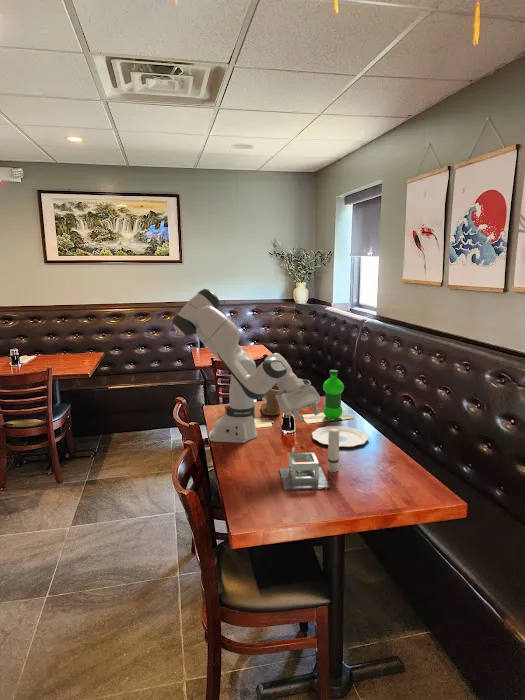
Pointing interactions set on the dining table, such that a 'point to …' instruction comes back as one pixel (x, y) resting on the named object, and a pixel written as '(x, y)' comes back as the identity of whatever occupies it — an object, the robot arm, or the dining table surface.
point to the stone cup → (271, 402)
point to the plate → (352, 435)
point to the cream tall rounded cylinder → (333, 450)
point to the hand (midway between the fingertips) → (310, 417)
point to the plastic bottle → (333, 396)
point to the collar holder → (303, 473)
